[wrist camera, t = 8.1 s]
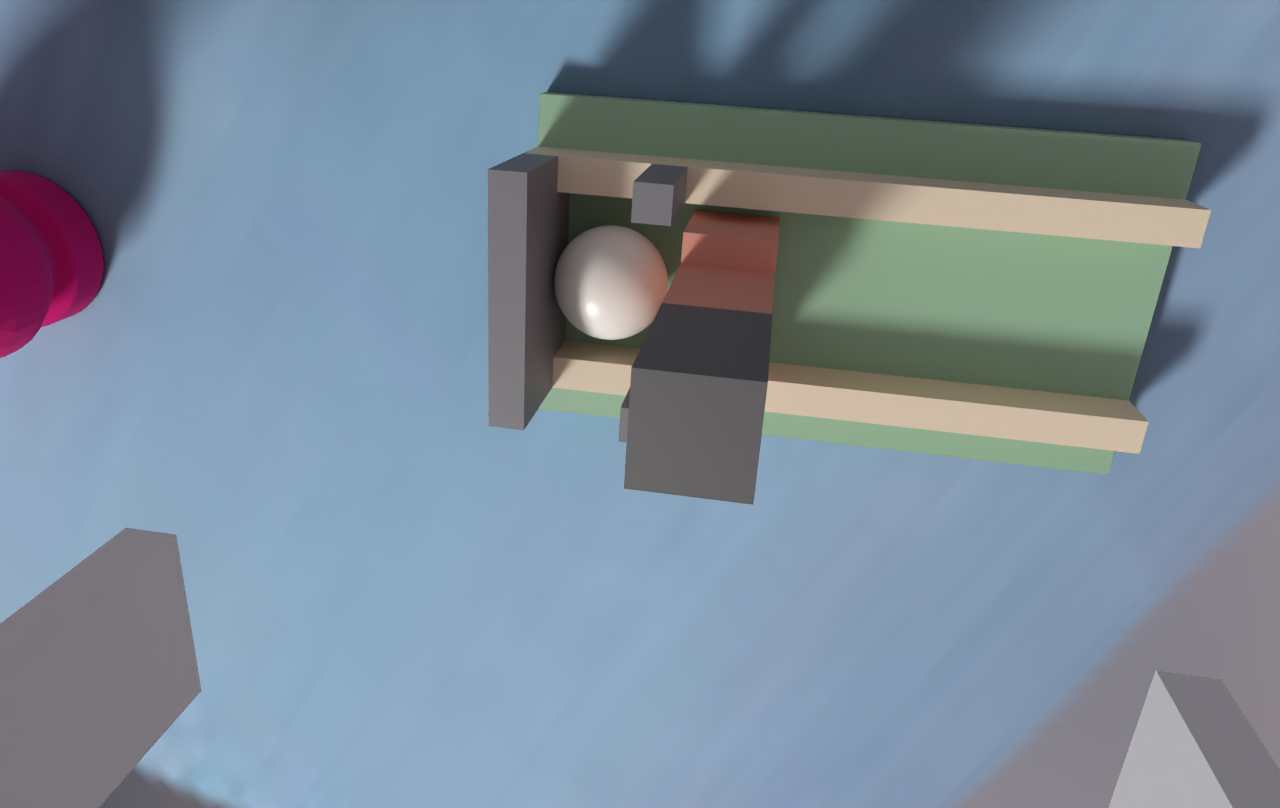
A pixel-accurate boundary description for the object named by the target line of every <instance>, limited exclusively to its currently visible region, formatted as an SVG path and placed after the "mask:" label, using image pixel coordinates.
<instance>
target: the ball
mask: <svg viewBox="0 0 1280 808" xmlns="http://www.w3.org/2000/svg"><path fill="white" fill-rule="evenodd" d="M554 289H555V295H556V299H557V302H558V304H559V307H560V309H561V311H562V312H563V314H564V315H565V317H566V318H567V319H568V320H569V322H570V323H572V324H573V325H574V326H575V327H576V328H577V329H579V330H580V331H582V332H584V333H585V334H587V335H590V336H592V337H596V338H600V339H606V340H616V339H623V338H627V337H630V336H633V335H635V334H637V333H639V332H641V331H642V330H644V329H645V328H646V327H648V326H649V325H650V324H651V323H652V322H653V321H654V319H655V317H656V315H657V312H658V310H659V308H660V306H661V304H662V302H663V300H664V298H665V296H666V293H667V289H668V277H667V270H666V267H665V263H664V261H663V258H662V256H661V255H660V253H659V251H658V250H657V248H656V247H655V246H654V245H653V244H652V243H651V242H650V241H649V240H648V239H647V238H646V237H645V236H643V235H642V234H640V233H638V232H637V231H635V230H632V229H630V228H626V227H622V226H616V225H605V226H599V227H595V228H592V229H589V230H587V231H585V232H583V233H581V234H580V235H578V236H577V237H576V238H574V239H573V240H572V241H571V242H570V243H569V244H568V245H567V247H566V248H565V249H564V251H563V252H562V254H561V256H560V258H559V260H558V263H557V266H556V270H555V275H554Z"/></svg>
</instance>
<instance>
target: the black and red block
mask: <svg viewBox="0 0 1280 808" xmlns="http://www.w3.org/2000/svg"><path fill="white" fill-rule="evenodd" d="M779 228H780V217H772V216H761V215H749V214H738V213H727V212H715V211H704V210H695V211H694V213H693V215H692V217H691V219H690V221H689V222H688V224H687V226H686V228H685V230H684V232H683V242H682V255H681V264H680V266H679V268H678V270H677V272H676V274H675V277H674V279H673V281H672V283H671V285H670V287H669V289H668V291H667V293H666V296H665V298H664V300H663V302H662V304H661V306H660V308H659V310H658V312H657V315H656V317H655V319H654V321H653V323H652V325H651V327H650V329H649V331H648V334H647V336H646V338H645V340H644V342H643V344H642V346H641V348H640V350H639V353H638V355H637V357H636V359H635V361H634V363H633V365H632V367H631V382H630V399H629V415H628V432H627V448H626V465H625V481H624V488H625V489H633V490H641V491H649V492H657V493H665V494H673V495H681V496H689V497H697V498H705V499H713V500H721V501H729V502H737V503H745V504H753V501H754V493H755V485H756V477H757V468H758V460H759V452H760V444H761V435H762V427H763V419H764V411H765V402H766V394H767V386H768V374H769V358H770V343H771V327H772V312H773V296H774V281H775V268H776V260H777V252H778V243H779Z"/></svg>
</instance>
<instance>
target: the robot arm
mask: <svg viewBox="0 0 1280 808" xmlns="http://www.w3.org/2000/svg"><path fill="white" fill-rule="evenodd" d="M200 691H201V685H200V679H199V673H198V667H197V661H196V654H195V648H194V642H193V636H192V630H191V623H190V617H189V611H188V605H187V599H186V592H185V586H184V580H183V574H182V568H181V561H180V555H179V549H178V543H177V537H176V535H174V534H167V533H160V532H153V531H145V530H138V529H131V528H125V529H124V530H123V531H121V532H120V533H119V534H117V535H116V536H115V537H113V538H112V539H111V540H109V541H108V542H107V543H106V544H104V545H103V546H102V547H100V548H99V549H98V550H96V551H95V552H94V553H92V554H91V555H90V556H89V557H87V558H86V559H85V560H83V561H82V562H81V563H79V564H78V565H77V566H75V567H74V568H73V569H72V570H70V571H69V572H68V573H66V574H65V575H64V576H62V577H61V578H60V579H58V580H57V581H56V582H55V583H53V584H52V585H51V586H49V587H48V588H47V589H45V590H44V591H43V592H41V593H40V594H39V595H38V596H36V597H35V598H34V599H32V600H31V601H30V602H28V603H27V604H26V605H24V606H23V607H22V608H21V609H19V610H18V611H17V612H15V613H14V614H13V615H11V616H10V617H9V618H7V619H6V620H5V621H4V622H2V623H1V624H0V808H98V807H99V806H100V805H101V804H102V803H103V802H104V800H106V798H107V797H108V796H109V795H110V794H111V792H112V791H113V790H114V789H115V788H116V787H117V786H118V785H119V784H120V782H121V781H122V780H123V779H124V778H125V777H126V776H127V774H128V773H129V772H130V771H131V770H132V769H133V768H134V767H135V765H136V764H137V763H138V762H139V761H140V760H141V759H142V757H143V756H144V755H145V754H146V753H147V752H148V751H149V749H150V748H151V747H152V746H153V745H154V744H155V743H156V742H157V740H158V739H159V738H160V737H161V736H162V735H163V734H164V732H165V731H166V730H167V729H168V728H169V727H170V726H171V724H172V723H173V722H174V721H175V720H176V719H177V718H178V716H179V715H180V714H181V713H182V712H183V711H184V710H185V709H186V707H187V706H188V705H189V704H190V703H191V702H192V701H193V699H194V698H195V697H196V696H197V695H198V694H199V693H200ZM1109 808H1280V769H1279V768H1278V766H1277V765H1276V763H1275V761H1274V760H1273V758H1272V757H1271V755H1270V754H1269V752H1268V751H1267V749H1266V748H1265V746H1264V744H1263V743H1262V741H1261V740H1260V738H1259V737H1258V735H1257V734H1256V732H1255V731H1254V729H1253V728H1252V726H1251V724H1250V723H1249V721H1248V720H1247V718H1246V717H1245V715H1244V714H1243V712H1242V711H1241V709H1240V708H1239V706H1238V704H1237V703H1236V701H1235V700H1234V698H1233V697H1232V695H1231V694H1230V692H1229V691H1228V689H1227V687H1226V686H1225V684H1224V683H1223V681H1222V680H1221V679H1214V678H1207V677H1199V676H1193V675H1185V674H1178V673H1170V672H1164V671H1156V672H1155V675H1154V678H1153V681H1152V684H1151V686H1150V690H1149V692H1148V695H1147V698H1146V701H1145V704H1144V707H1143V710H1142V712H1141V715H1140V718H1139V722H1138V724H1137V727H1136V730H1135V733H1134V736H1133V739H1132V741H1131V744H1130V747H1129V750H1128V753H1127V756H1126V759H1125V762H1124V765H1123V767H1122V770H1121V773H1120V776H1119V779H1118V782H1117V785H1116V788H1115V791H1114V794H1113V797H1112V799H1111V802H1110V805H1109Z"/></svg>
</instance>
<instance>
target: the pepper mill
mask: <svg viewBox="0 0 1280 808" xmlns="http://www.w3.org/2000/svg"><path fill="white" fill-rule="evenodd" d="M103 270H104V263H103V253H102V247H101V244H100V241H99V238H98V235H97V232H96V230H95V228H94V226H93V224H92V223H91V221H90V219H89V217H88V216H87V214H86V212H85V211H84V210H83V208H82V207H81V206H80V205H79V204H78V203H77V202H76V201H75V200H74V199H73V197H72V196H70V195H69V194H68V193H67V192H65V191H64V190H63V189H62V188H60V187H59V186H58V185H56V184H55V183H53V182H51V181H49V180H47V179H46V178H43V177H41V176H38V175H36V174H33V173H29V172H23V171H17V170H15V171H2V172H0V358H1V357H5V356H7V355H9V354H11V353H13V352H15V351H17V350H19V349H20V348H22V347H23V346H25V345H26V344H27V343H28V342H29V341H31V340H32V339H33V337H34V336H35V335H36V333H37V332H38V331H39V329H40V328H41V327H43V326H47V325H50V324H52V323H55V322H57V321H60V320H62V319H65V318H67V317H70V316H72V315H75V314H77V313H78V312H80V311H82V310H83V309H85V308H86V307H87V306H88V305H89V304H90V303H91V302H92V301H93V299H94V297H95V296H96V294H97V292H98V290H99V288H100V285H101V281H102V276H103Z"/></svg>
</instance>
